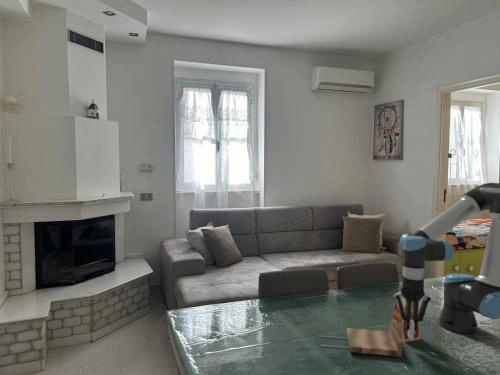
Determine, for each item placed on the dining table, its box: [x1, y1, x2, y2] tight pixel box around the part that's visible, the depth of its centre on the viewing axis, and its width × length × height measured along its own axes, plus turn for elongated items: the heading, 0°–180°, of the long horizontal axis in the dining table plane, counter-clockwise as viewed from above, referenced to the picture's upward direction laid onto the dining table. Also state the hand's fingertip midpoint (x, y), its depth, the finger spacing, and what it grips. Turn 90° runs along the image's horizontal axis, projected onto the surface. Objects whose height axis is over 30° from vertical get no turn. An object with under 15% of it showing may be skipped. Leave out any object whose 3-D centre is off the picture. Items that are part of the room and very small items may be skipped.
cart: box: [346, 323, 403, 358], centre depth 143 cm, size 18×18×5 cm
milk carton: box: [390, 295, 421, 343], centre depth 152 cm, size 9×9×20 cm
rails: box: [319, 335, 403, 355], centre depth 144 cm, size 30×9×1 cm, turn 80°
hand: (410, 337), depth 141 cm, fingers closed
